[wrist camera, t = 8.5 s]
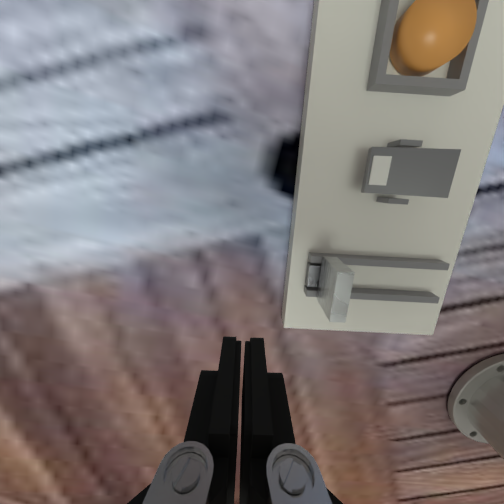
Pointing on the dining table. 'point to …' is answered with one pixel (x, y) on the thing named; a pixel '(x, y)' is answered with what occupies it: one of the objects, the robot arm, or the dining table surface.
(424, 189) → the rocker switch
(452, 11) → the push button
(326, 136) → the switch panel
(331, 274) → the grey slider handle
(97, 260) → the dining table surface
